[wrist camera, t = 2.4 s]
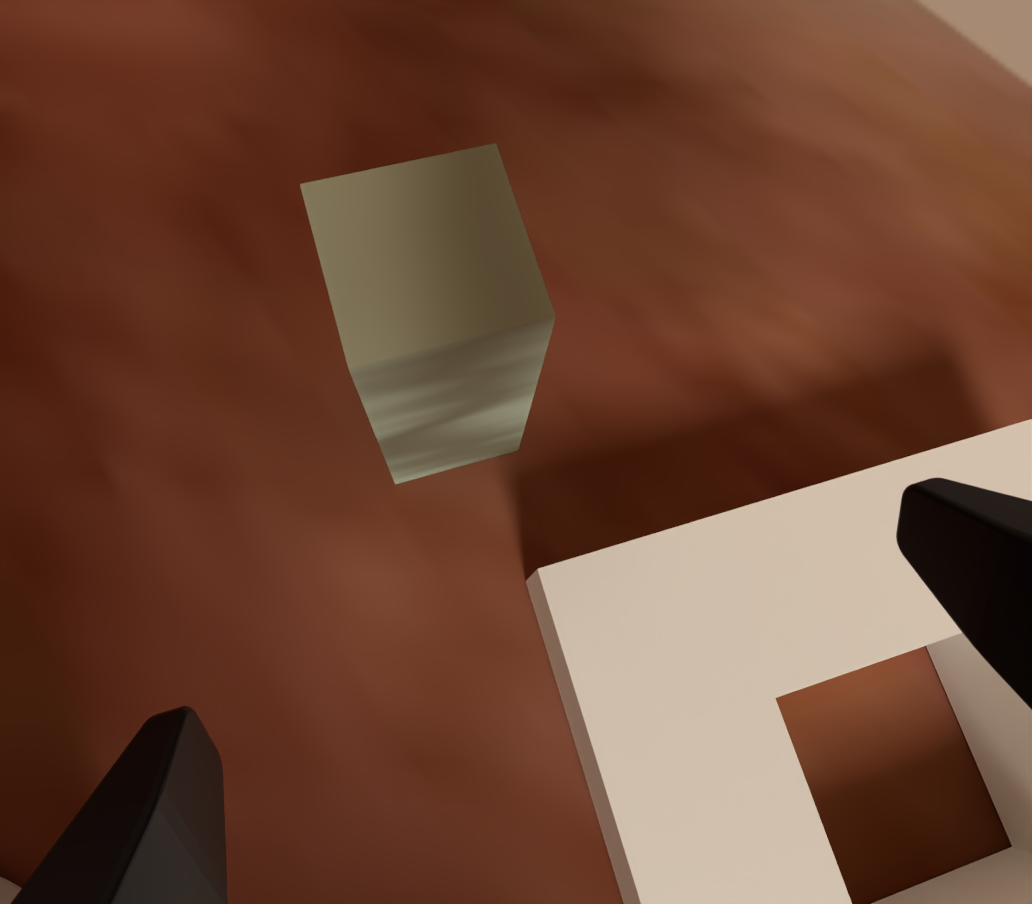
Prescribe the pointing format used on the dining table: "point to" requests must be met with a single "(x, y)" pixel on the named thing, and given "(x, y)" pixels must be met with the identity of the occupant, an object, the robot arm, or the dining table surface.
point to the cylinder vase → (8, 891)
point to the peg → (434, 305)
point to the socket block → (769, 683)
